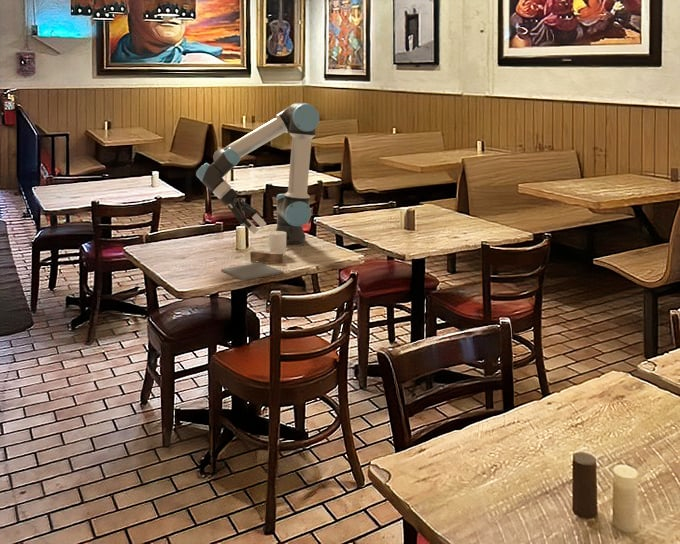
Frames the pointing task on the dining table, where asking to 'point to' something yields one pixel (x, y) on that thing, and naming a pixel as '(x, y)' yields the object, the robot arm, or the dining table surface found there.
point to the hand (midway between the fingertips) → (260, 228)
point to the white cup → (277, 242)
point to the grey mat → (251, 271)
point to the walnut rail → (266, 257)
